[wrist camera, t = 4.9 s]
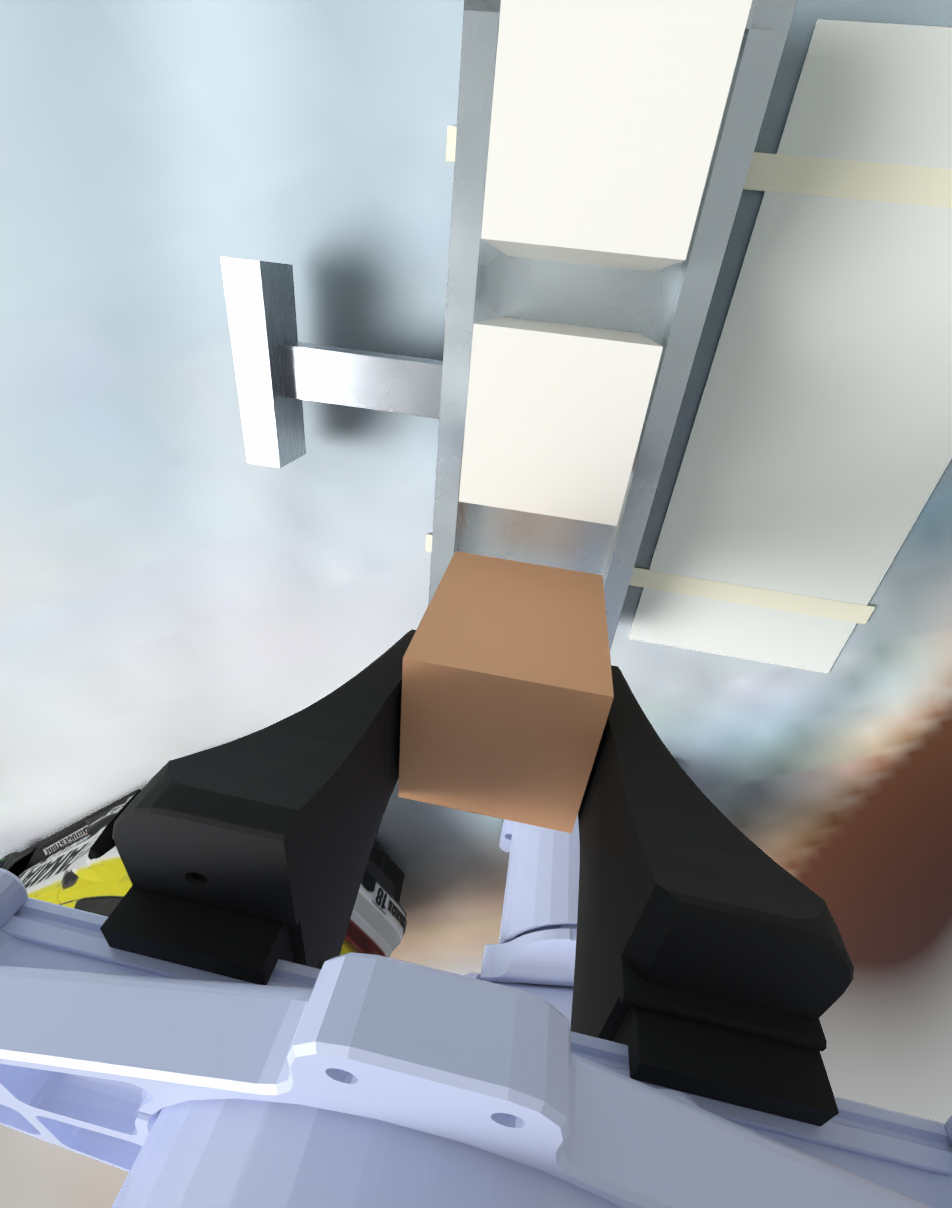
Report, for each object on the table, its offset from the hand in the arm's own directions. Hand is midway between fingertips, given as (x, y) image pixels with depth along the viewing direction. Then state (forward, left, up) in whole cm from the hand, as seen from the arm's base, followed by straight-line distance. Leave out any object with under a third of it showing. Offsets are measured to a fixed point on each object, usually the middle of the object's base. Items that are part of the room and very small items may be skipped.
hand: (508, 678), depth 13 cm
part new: (0, 0, -2) cm, 2 cm away
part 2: (+6, 0, -7) cm, 9 cm away
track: (+5, -5, -9) cm, 12 cm away
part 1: (+11, 0, -7) cm, 13 cm away
